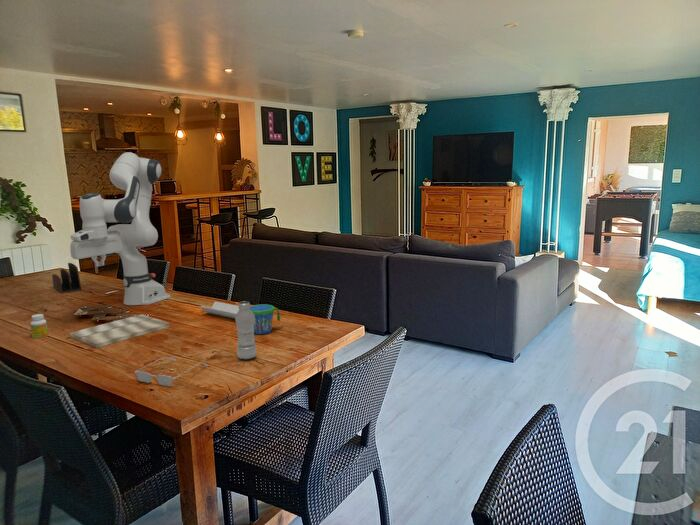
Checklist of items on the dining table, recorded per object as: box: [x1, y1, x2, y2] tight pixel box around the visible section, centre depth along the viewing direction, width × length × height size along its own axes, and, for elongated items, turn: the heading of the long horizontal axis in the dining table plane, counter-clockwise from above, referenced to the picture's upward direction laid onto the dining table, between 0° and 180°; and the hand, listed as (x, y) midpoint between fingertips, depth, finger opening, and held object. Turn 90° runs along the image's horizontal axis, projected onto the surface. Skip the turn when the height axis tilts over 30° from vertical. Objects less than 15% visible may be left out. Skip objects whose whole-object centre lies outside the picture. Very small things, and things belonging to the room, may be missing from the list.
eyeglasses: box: [134, 357, 209, 387], centre depth 160 cm, size 15×18×4 cm
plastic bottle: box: [235, 300, 257, 360], centre depth 170 cm, size 6×7×20 cm
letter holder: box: [51, 262, 82, 294], centre depth 276 cm, size 10×20×14 cm, turn 42°
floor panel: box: [69, 314, 153, 342], centre depth 199 cm, size 32×25×2 cm
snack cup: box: [250, 303, 281, 335], centre depth 198 cm, size 16×10×10 cm
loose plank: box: [81, 317, 171, 349], centre depth 196 cm, size 30×12×2 cm, turn 142°
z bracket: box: [200, 301, 239, 319], centre depth 221 cm, size 12×25×6 cm
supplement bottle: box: [30, 313, 49, 339], centre depth 194 cm, size 5×5×10 cm
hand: (100, 265), depth 206 cm, fingers closed
